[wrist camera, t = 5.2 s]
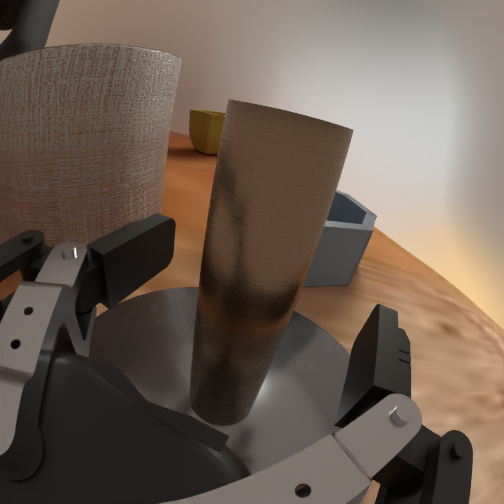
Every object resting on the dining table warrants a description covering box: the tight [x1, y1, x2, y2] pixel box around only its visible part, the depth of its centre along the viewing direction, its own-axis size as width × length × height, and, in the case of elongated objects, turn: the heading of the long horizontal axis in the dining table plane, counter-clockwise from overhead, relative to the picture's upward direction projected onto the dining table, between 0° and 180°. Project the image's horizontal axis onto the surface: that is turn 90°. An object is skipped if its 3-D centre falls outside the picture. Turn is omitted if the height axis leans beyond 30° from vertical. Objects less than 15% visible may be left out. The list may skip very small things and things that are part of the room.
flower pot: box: [189, 109, 226, 154], centre depth 56 cm, size 9×9×9 cm
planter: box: [0, 43, 182, 247], centre depth 20 cm, size 18×18×16 cm
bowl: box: [303, 190, 377, 287], centre depth 27 cm, size 12×12×6 cm
